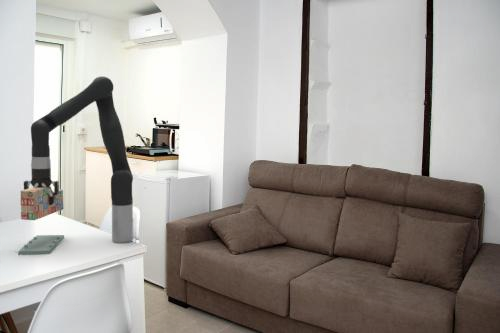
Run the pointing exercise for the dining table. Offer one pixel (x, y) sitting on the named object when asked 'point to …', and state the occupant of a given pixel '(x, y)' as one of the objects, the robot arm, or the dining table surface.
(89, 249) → the dining table surface
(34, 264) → the dining table surface
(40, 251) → the baseplate
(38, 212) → the stack of blocks
